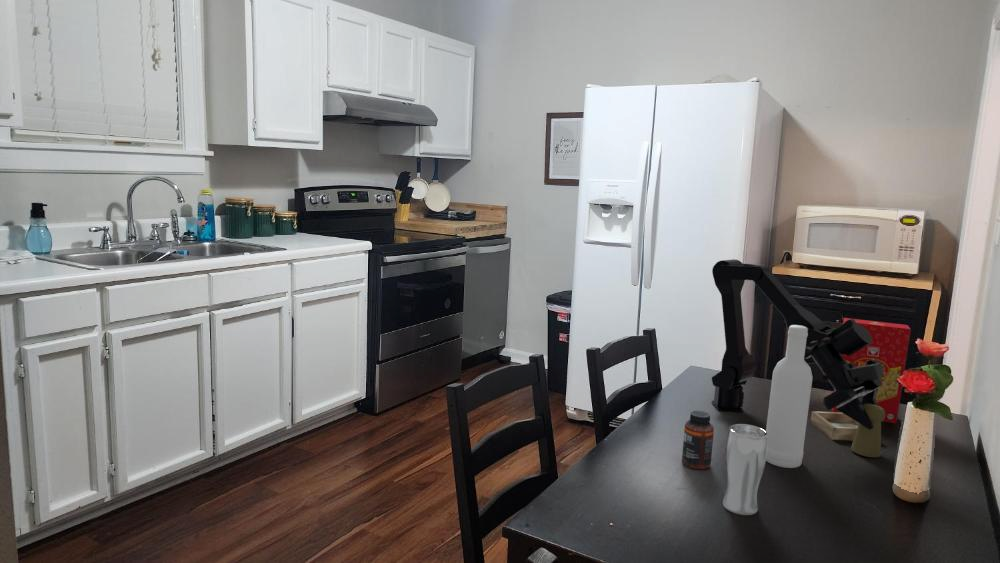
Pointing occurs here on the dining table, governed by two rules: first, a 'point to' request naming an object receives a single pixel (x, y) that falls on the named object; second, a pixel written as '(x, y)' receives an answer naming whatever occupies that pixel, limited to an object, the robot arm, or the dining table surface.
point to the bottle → (789, 403)
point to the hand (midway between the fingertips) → (876, 426)
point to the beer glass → (744, 467)
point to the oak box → (835, 425)
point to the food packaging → (884, 361)
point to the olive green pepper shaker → (869, 433)
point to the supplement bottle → (698, 441)
